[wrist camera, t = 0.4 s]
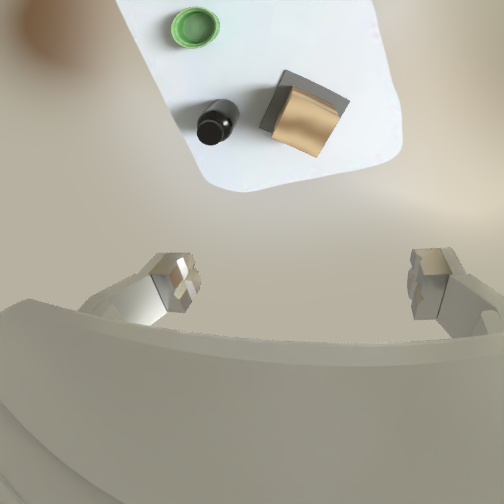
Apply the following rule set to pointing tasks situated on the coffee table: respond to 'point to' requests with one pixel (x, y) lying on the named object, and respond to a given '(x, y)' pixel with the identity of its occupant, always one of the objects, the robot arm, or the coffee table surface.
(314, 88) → the mat
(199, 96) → the coffee table surface
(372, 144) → the coffee table surface
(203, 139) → the supplement bottle
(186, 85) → the coffee table surface
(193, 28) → the ramekin
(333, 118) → the tower top
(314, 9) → the coffee table surface
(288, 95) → the tower base
